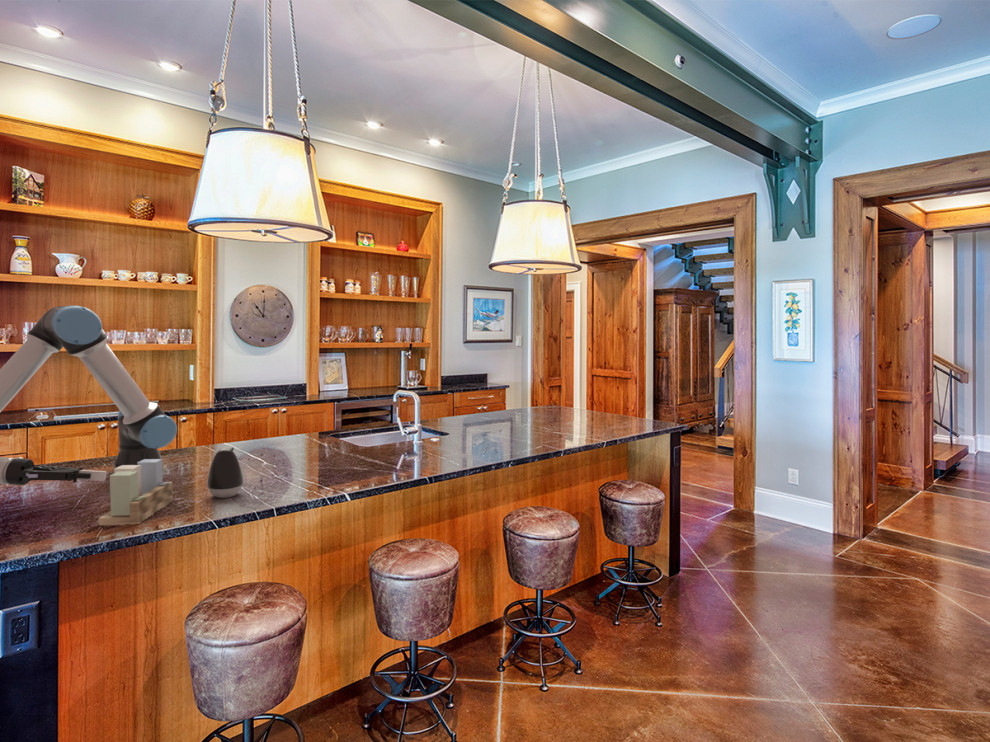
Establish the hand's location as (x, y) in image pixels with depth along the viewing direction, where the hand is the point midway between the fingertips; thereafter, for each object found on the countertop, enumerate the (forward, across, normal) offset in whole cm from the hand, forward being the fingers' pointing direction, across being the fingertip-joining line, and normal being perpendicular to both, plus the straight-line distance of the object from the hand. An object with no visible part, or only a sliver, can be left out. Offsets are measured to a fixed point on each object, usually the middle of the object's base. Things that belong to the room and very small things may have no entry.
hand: (104, 476), depth 163 cm
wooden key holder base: (+13, +9, -8) cm, 18 cm away
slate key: (+14, +3, -5) cm, 15 cm away
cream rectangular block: (+11, +9, -6) cm, 15 cm away
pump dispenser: (+33, -3, -5) cm, 34 cm away
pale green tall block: (+12, +17, -7) cm, 22 cm away
